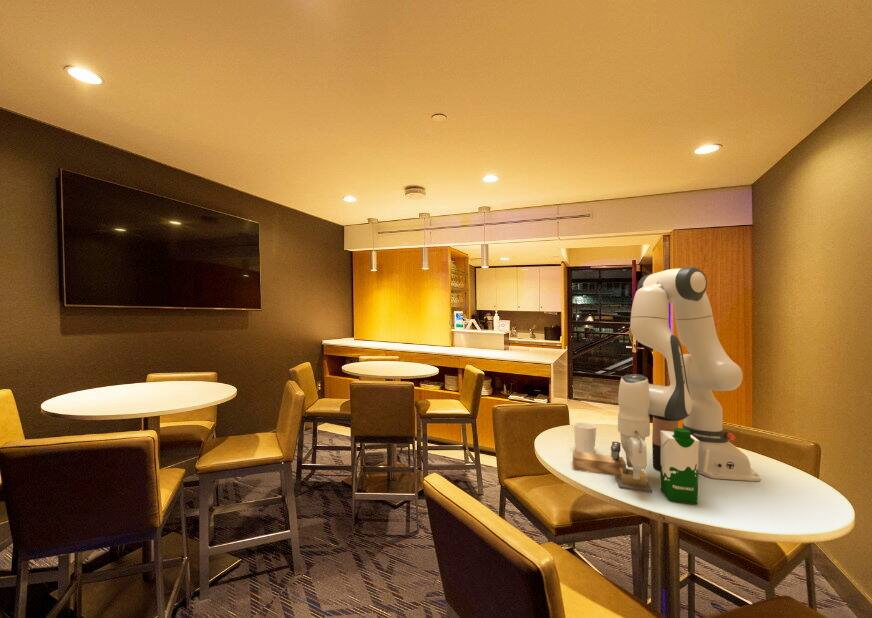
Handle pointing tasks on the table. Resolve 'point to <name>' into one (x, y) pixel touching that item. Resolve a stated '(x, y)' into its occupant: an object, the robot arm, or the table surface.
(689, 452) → the milk carton
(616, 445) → the lever
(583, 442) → the white cup
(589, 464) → the plane body
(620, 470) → the gold block with knob
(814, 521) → the table surface
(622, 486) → the rubber mat
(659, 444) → the travel mug
